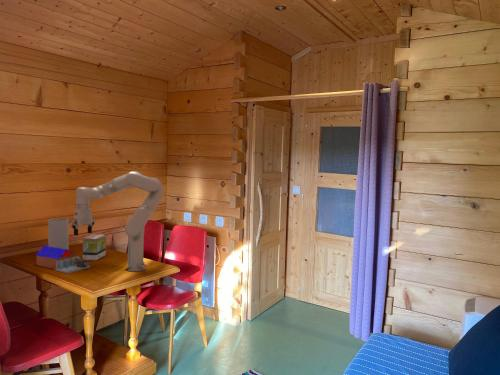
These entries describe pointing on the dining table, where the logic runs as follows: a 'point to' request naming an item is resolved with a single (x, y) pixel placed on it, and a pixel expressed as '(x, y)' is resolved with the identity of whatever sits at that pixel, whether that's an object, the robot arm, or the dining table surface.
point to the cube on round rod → (81, 263)
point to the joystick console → (68, 265)
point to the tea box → (94, 247)
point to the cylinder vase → (58, 233)
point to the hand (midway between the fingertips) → (82, 234)
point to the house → (52, 256)
